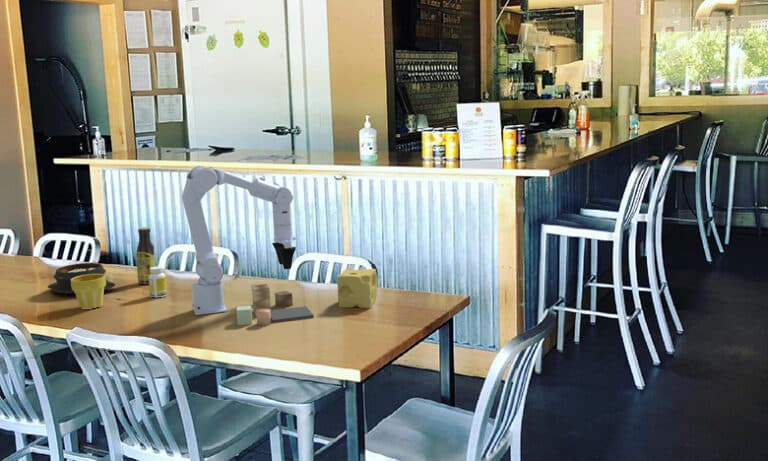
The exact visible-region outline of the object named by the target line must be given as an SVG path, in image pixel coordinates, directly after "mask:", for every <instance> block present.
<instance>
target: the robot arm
mask: <svg viewBox="0 0 768 461" xmlns="http://www.w3.org/2000/svg"><path fill="white" fill-rule="evenodd" d="M185 179H186V181H185V184H184V189H183V192H182V194H181V200H182V204H183V208H184V211H185V215H186V219H187V223H188V226H189V230H190V234H191V237H192V238H191V239H192V241H193V246H194V248H195V249H194V250H195V253H196V254H195V260H196V264H195V272H196V274H197V275H198V277H199V278H198V280H197V282H196V283H193V284H191V296H192V297H191V298H192V303H191V306H192V309H193V312H194V315H196V316H200V315H208V314H217V313H223V312H224V313H225V312H227V311H228V309H227V308H226V305H225V301H224V300H225V299H224V287H223V286H224V284H223V277H224V267H222V265H221V264H220V263H219V261H218V258H217V255H216V254H215V251H214V249H213V246H212V242H211V238H210V233H209V231H208V225H207V221H206V217H205V214H204V210H203V207H202V202H201V200H202V199H203V198H204V196H205V195H206V194H207V193H208V192H209V191H211V190H212V189H213V188H215V186H216V185H217V186H221V185H224V184H227V185H230V186H231V185H232V186H234V187H238V188H240V189H241V188H242V189H245V190H247V191H248V193H249V195H250V196H251V197H255V198H257V199H260V200H264V201H266V202H270V203H271V204H272V206H271V207H272V221H273V223H272V224H273V225H272V226H273V237H274V238H273V242H272V243H271V245H272V246H273V248H274V250H275V252H276V256H277V260H278V264H279V265H282V267H283V269H284V270H291V269H292V264H293V259H294V254H295V252H296V251H297V250H296V249H297V247H296V246H292V242H293V241H294V240H297V236H293V227H292V225H293V224H292V210H291V207H292V206H291V203H292V202H293V200H294V195H293V194H292V193H293V192H292V191H291V190H290V189H289V188H288V187H284V186H282V185H280V184H279V183H277V182H274V183H272V182H269V181H268V180H267V181H266V178H265V177H259V178H258V177H255V178H254V179H251V180H250V179H247V178H246V177H242V176H239V175H237V174H234V173H232V172H228V170H227V171H226V170H223V169H218V168H214V167H213V168H212V167H205V166H203V165H196V166H194V167H193V168H192V169H191V170H190V171H189V172H188V174H187V175H186V178H185Z"/></svg>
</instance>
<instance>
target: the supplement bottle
mask: <svg viewBox="0 0 768 461" xmlns="http://www.w3.org/2000/svg"><path fill="white" fill-rule="evenodd" d="M163 270H164V267H163V266H161V265H160V266H158V265H157V266H155V267H151V268H150V273H151V274H150V275H149V284H148V286H149V295H150V298H151V297H162V298H164V296H165V297H167V296H168V289H167V288H168V286H167V279H166V274H165V273H164V271H163ZM166 295H167V296H166Z"/></svg>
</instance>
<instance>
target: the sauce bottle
mask: <svg viewBox="0 0 768 461" xmlns="http://www.w3.org/2000/svg"><path fill="white" fill-rule="evenodd" d="M137 229H138V230H137V233H138V237H139V239H138V240H139V241H138V245H137V249H136V255H135V256H136V269H137V271H136V273H137V281H138V284H139V285H143V284H144V285H149V275H150V274H151V273H150V268H151V267H156V254H155V246H154V244H153V243H152V241H151V228H150V227H146V226H145V227H140V228H137Z"/></svg>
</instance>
